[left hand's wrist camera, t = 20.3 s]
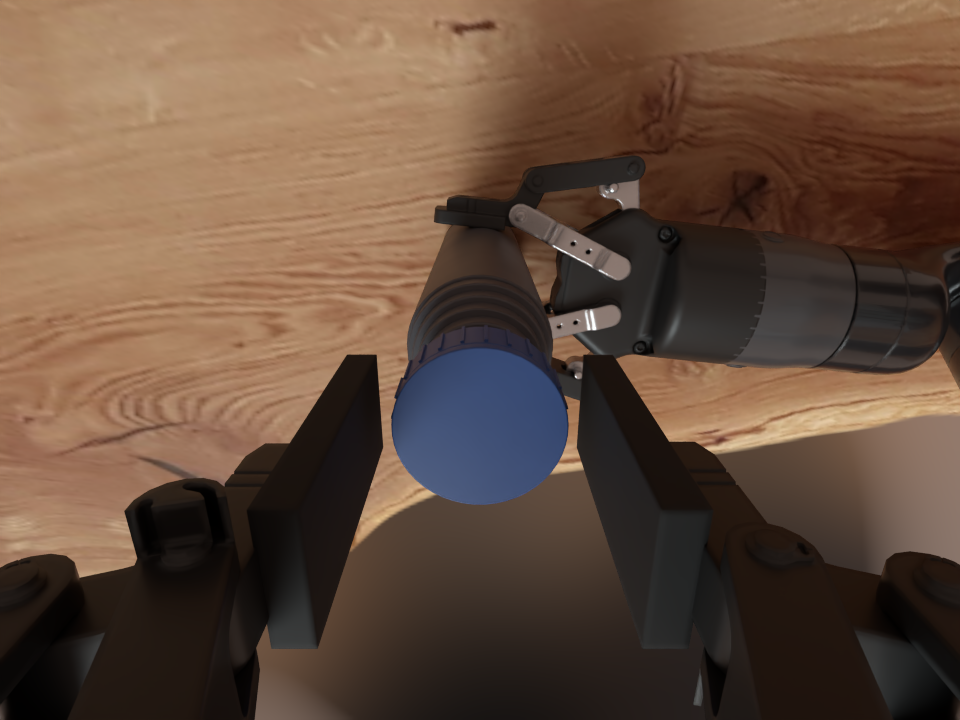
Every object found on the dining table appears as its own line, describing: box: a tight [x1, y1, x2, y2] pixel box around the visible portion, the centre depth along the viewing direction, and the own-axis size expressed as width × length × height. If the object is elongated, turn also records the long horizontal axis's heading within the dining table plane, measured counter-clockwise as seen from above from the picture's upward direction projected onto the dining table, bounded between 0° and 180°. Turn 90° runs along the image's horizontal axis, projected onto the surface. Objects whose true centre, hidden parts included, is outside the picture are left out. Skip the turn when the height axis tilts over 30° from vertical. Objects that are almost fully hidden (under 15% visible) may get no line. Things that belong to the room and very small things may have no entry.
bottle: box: [407, 225, 553, 365], centre depth 25 cm, size 5×5×24 cm
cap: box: [391, 325, 568, 504], centre depth 14 cm, size 4×4×2 cm
